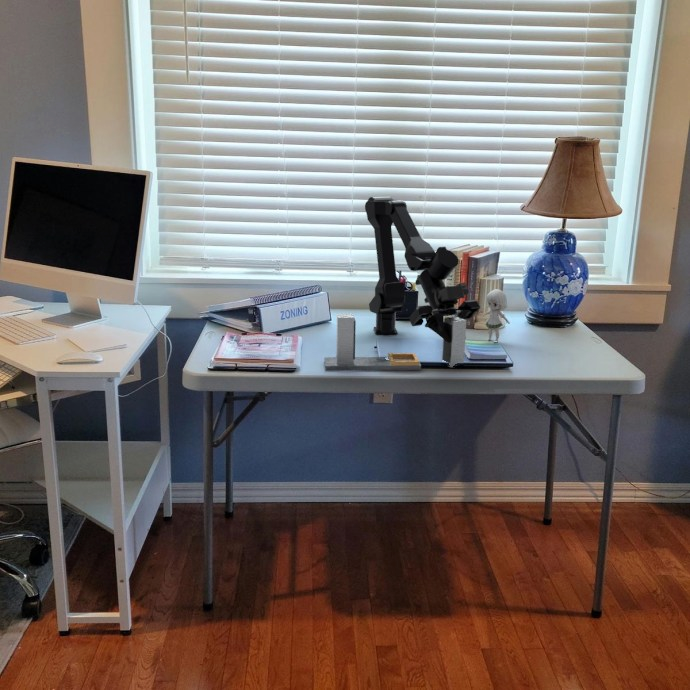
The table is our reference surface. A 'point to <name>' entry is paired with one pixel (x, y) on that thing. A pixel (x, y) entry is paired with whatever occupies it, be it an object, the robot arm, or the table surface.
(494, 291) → the figurine
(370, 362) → the rail
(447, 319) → the gray block
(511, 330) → the table surface
